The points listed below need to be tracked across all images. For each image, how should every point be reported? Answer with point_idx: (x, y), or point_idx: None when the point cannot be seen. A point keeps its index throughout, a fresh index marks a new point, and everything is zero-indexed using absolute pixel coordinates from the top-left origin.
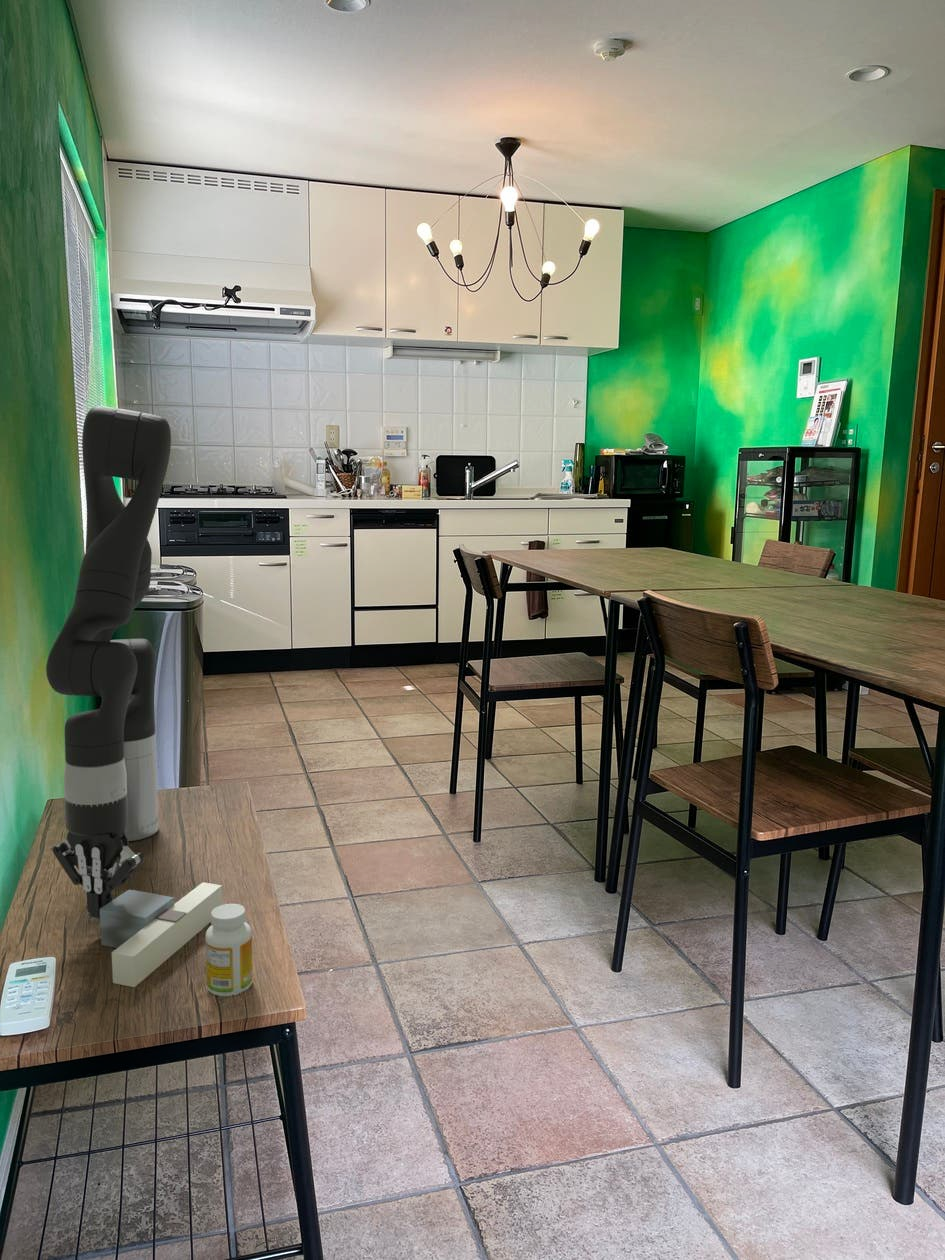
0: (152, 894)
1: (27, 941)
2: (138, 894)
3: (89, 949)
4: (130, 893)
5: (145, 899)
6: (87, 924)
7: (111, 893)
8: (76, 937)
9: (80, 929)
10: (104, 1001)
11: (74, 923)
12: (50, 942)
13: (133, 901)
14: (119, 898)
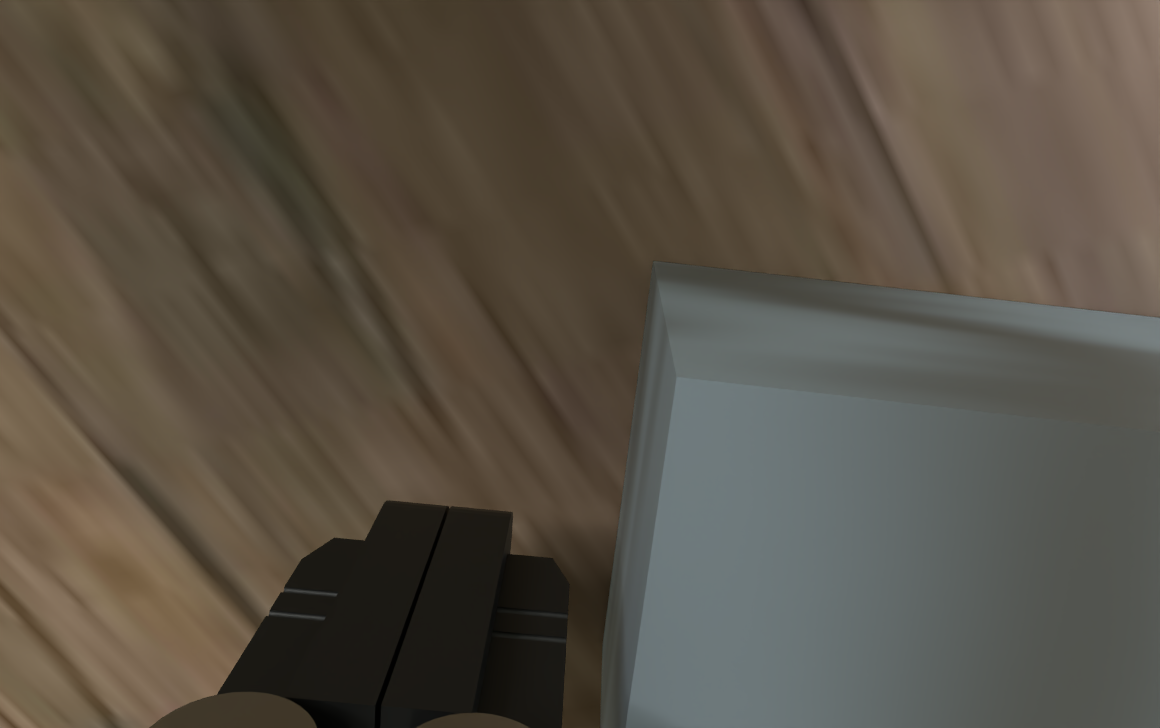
0: (1148, 458)
1: (7, 707)
2: (915, 503)
3: None
4: (772, 502)
5: (1094, 616)
6: (261, 368)
7: (560, 712)
8: None
9: (265, 462)
10: None
11: (135, 378)
12: (185, 687)
13: (941, 707)
14: (692, 671)
